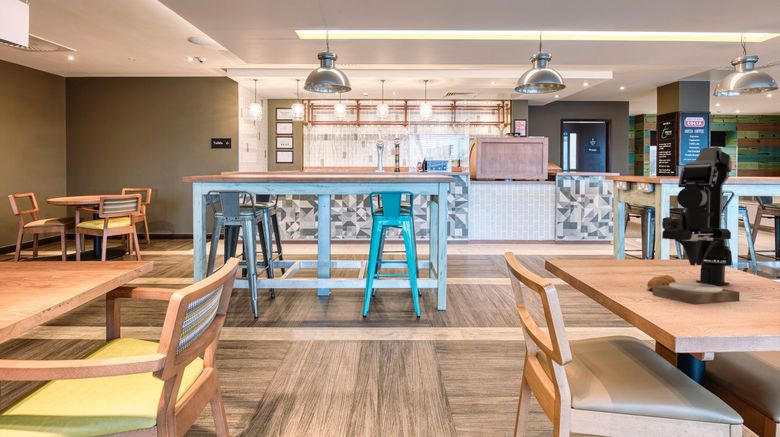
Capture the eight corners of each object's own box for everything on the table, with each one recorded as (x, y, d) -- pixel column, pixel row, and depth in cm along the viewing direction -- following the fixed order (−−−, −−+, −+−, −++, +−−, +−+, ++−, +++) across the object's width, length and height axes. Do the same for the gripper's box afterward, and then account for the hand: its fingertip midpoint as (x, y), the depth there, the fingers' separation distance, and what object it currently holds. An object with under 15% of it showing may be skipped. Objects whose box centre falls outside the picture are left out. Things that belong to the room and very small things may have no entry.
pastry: (663, 292, 137) (664, 279, 137) (640, 288, 143) (641, 275, 142) (679, 289, 142) (680, 276, 142) (656, 285, 148) (656, 273, 148)
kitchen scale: (694, 292, 140) (695, 280, 140) (739, 300, 127) (739, 288, 127) (652, 294, 135) (652, 283, 135) (694, 304, 122) (694, 291, 122)
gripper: (695, 208, 141) (694, 260, 141) (646, 208, 135) (645, 262, 135) (733, 209, 130) (731, 265, 131) (681, 208, 124) (679, 268, 125)
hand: (695, 265), depth 131 cm, fingers closed
